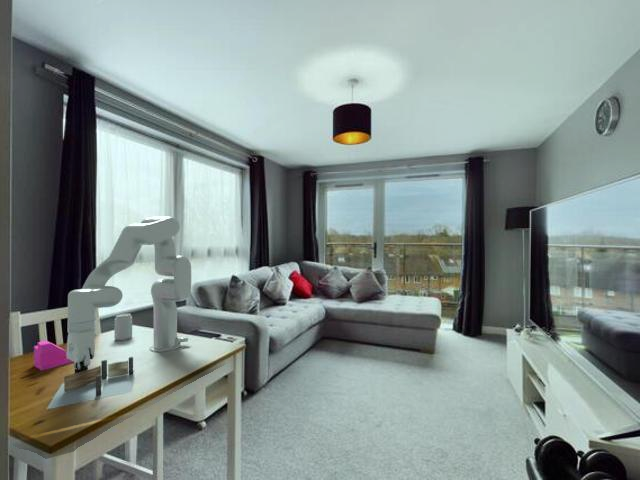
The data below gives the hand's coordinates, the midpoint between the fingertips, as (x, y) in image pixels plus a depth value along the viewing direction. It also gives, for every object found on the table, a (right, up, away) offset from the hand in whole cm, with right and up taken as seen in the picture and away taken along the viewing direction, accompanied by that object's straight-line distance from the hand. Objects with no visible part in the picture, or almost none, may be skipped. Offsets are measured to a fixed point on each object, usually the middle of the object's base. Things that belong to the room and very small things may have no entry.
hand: (81, 379), depth 102 cm
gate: (+2, -1, -2) cm, 3 cm away
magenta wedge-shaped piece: (-24, -2, +18) cm, 30 cm away
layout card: (+7, -2, -2) cm, 8 cm away
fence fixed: (+12, -1, 0) cm, 12 cm away
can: (-17, -2, +48) cm, 51 cm away
